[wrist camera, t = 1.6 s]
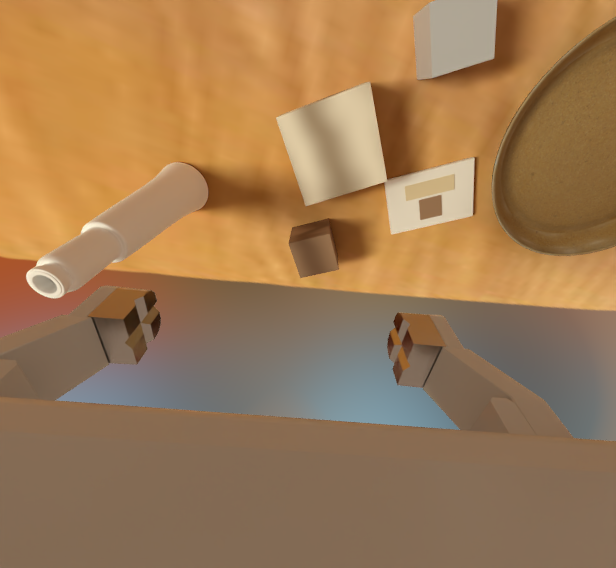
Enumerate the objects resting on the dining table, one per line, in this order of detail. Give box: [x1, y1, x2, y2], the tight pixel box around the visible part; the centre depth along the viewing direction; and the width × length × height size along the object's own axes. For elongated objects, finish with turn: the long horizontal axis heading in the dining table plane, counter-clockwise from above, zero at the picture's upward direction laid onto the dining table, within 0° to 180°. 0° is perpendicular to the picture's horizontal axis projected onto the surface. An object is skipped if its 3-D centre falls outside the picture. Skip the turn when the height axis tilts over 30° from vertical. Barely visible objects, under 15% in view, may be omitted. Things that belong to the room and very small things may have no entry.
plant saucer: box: [492, 17, 616, 256], centre depth 31 cm, size 24×24×3 cm
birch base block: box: [276, 82, 387, 206], centre depth 31 cm, size 9×9×5 cm
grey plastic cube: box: [413, 0, 497, 80], centre depth 26 cm, size 5×5×5 cm
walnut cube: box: [289, 218, 339, 278], centre depth 38 cm, size 5×5×5 cm
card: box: [384, 157, 475, 234], centre depth 36 cm, size 10×7×1 cm
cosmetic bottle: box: [26, 162, 208, 298], centre depth 27 cm, size 6×6×22 cm
